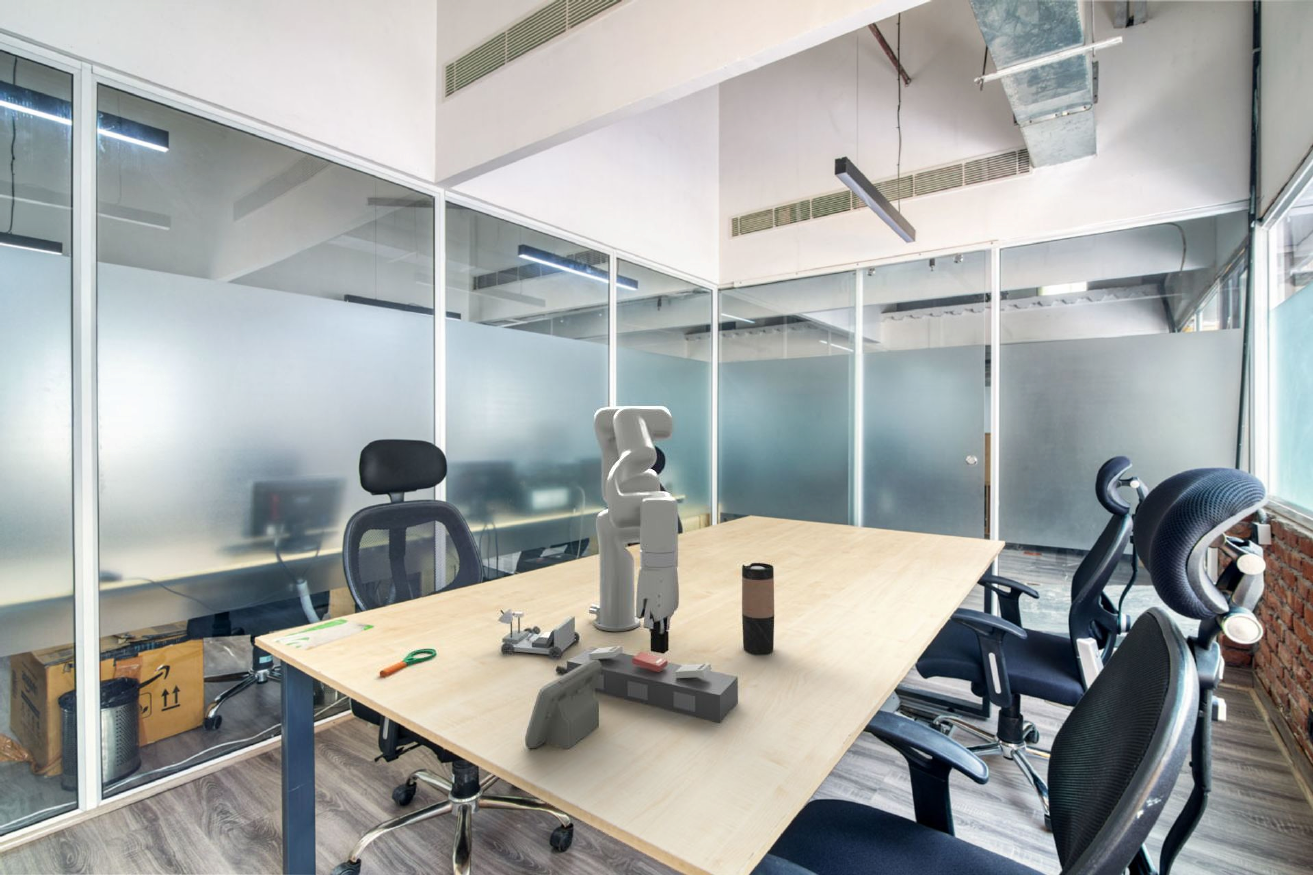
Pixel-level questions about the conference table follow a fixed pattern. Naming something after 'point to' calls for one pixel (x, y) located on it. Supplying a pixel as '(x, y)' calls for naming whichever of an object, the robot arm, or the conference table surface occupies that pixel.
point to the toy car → (538, 637)
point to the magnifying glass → (408, 661)
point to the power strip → (663, 686)
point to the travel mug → (758, 608)
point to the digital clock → (566, 708)
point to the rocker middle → (649, 661)
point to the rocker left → (605, 652)
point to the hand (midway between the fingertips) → (659, 651)
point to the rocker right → (693, 670)
